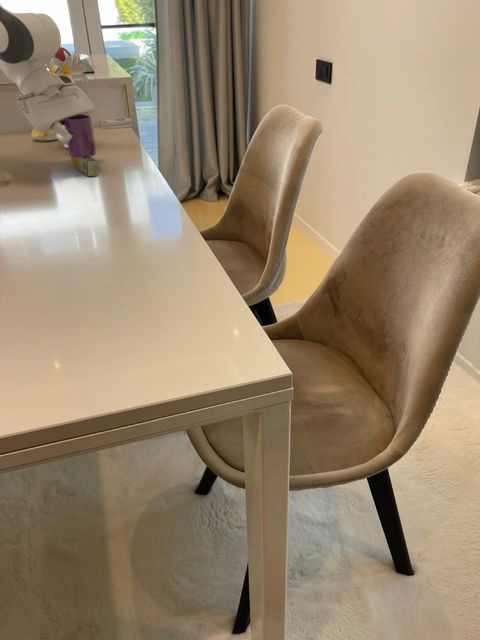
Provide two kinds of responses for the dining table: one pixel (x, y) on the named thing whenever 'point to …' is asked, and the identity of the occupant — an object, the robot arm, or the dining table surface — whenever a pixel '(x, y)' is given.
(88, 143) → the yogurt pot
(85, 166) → the medication box
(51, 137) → the bread roll
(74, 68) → the flower vase
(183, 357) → the dining table surface
